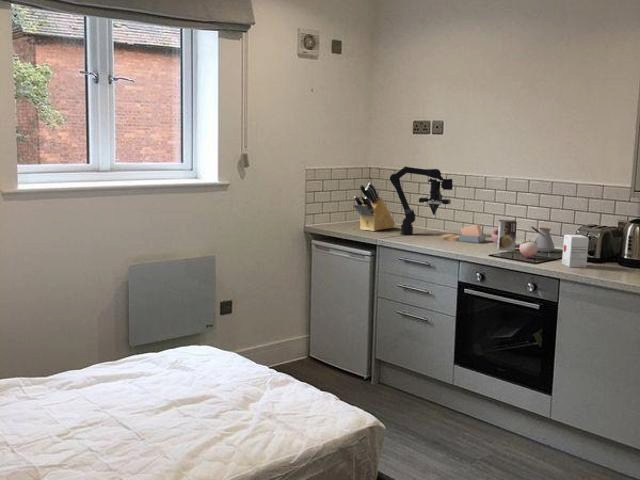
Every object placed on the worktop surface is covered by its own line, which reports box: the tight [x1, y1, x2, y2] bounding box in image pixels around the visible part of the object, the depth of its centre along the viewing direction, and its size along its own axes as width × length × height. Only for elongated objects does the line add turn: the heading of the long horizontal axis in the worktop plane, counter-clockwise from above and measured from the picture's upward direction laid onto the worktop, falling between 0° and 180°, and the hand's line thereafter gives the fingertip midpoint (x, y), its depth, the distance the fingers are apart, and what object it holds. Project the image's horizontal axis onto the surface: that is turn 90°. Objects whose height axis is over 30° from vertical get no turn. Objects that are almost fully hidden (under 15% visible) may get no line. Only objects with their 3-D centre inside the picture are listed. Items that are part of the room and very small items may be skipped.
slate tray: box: [458, 233, 486, 244], centre depth 425 cm, size 12×14×4 cm
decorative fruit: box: [519, 238, 538, 259], centre depth 369 cm, size 9×8×10 cm
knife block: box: [353, 182, 396, 232], centre depth 459 cm, size 11×35×31 cm, turn 143°
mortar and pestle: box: [491, 227, 498, 245], centre depth 410 cm, size 12×12×12 cm
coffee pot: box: [528, 226, 555, 253], centre depth 389 cm, size 21×12×15 cm, turn 135°
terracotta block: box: [460, 223, 484, 236], centre depth 424 cm, size 7×7×10 cm
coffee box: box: [496, 219, 518, 251], centre depth 397 cm, size 9×6×16 cm
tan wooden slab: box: [438, 233, 460, 242], centre depth 430 cm, size 12×14×2 cm
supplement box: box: [561, 234, 590, 268], centre depth 351 cm, size 9×9×15 cm
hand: (434, 214), depth 439 cm, fingers closed
